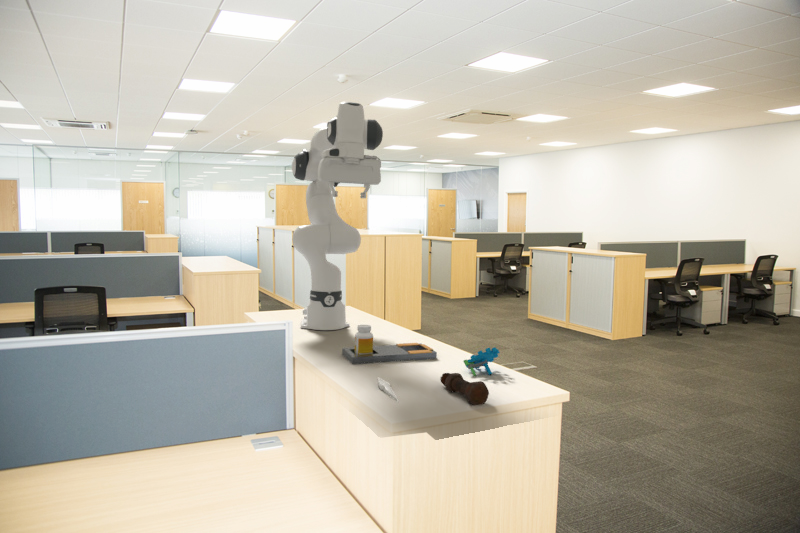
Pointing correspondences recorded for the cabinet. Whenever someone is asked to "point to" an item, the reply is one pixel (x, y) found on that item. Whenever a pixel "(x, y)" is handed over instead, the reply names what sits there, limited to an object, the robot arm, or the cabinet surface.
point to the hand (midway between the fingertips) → (349, 197)
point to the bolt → (466, 388)
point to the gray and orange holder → (391, 353)
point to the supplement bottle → (363, 340)
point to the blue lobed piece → (482, 360)
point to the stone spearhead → (386, 388)
